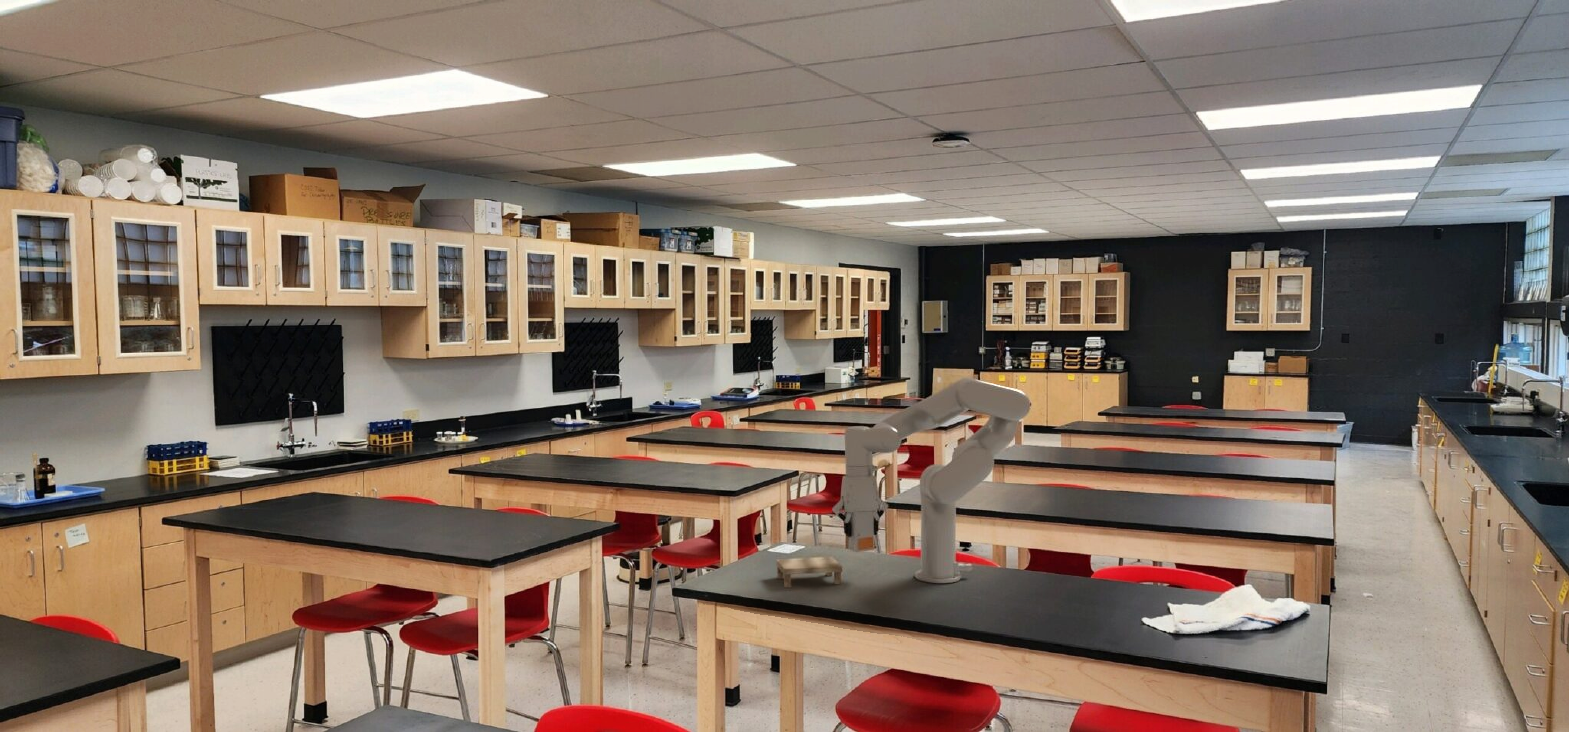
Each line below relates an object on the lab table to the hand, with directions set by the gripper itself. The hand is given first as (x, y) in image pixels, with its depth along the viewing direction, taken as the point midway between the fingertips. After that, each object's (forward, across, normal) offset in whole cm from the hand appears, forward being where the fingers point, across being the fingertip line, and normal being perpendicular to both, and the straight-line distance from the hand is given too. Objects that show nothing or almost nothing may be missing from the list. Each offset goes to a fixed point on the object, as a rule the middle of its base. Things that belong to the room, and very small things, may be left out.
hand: (861, 534), depth 262 cm
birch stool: (+12, +15, -1) cm, 19 cm away
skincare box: (+5, 0, 0) cm, 5 cm away
